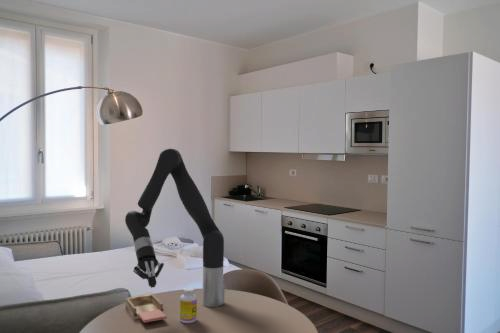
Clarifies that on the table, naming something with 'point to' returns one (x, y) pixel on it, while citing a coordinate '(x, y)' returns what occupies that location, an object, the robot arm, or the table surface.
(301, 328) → the table surface
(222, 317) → the table surface
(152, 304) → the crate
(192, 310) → the supplement bottle
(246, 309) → the table surface
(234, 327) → the table surface
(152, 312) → the panel
